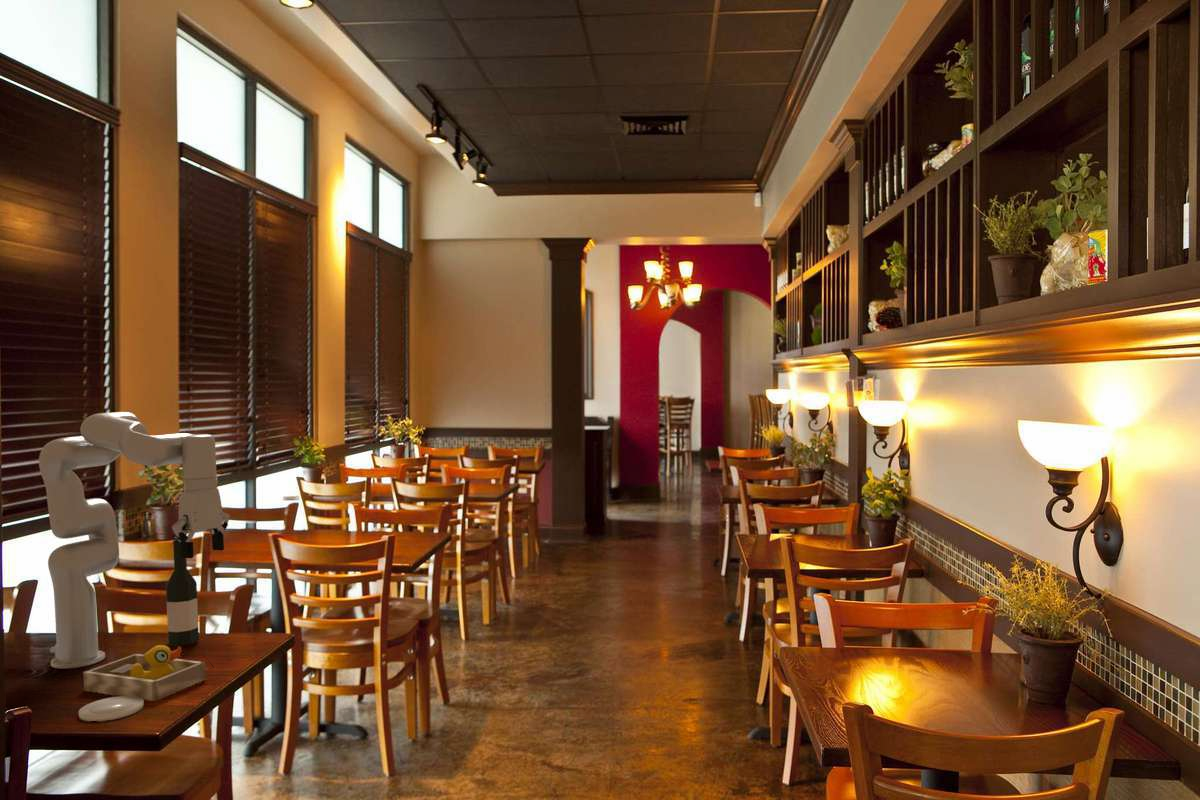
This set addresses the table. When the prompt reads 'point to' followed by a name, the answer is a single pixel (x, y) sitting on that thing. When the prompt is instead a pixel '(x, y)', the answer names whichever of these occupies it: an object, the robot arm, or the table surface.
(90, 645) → the robot arm
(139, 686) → the tray
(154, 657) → the duckling
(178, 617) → the wine bottle
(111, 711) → the plate
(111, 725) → the table surface
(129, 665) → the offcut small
